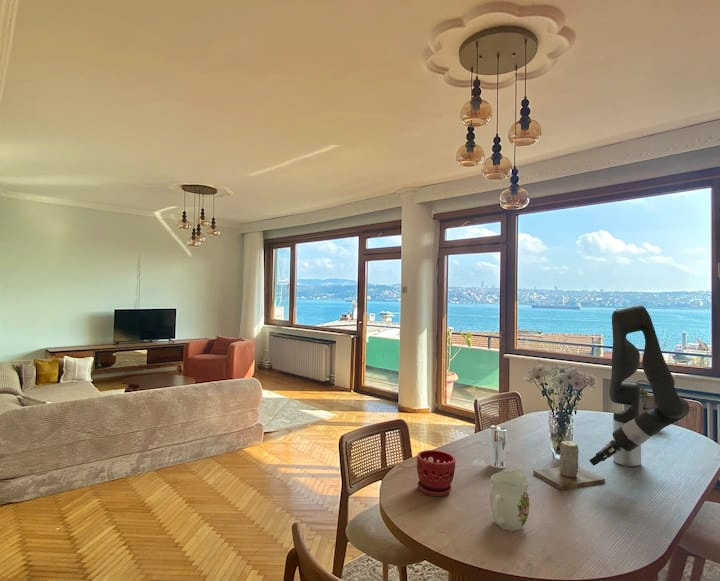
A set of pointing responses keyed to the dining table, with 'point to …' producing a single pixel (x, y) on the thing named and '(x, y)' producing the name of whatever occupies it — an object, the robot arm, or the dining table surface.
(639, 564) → the dining table surface
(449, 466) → the plant pot
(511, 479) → the pitcher
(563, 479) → the walnut board
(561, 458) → the carving
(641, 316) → the robot arm
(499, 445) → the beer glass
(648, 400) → the tabletop clock
